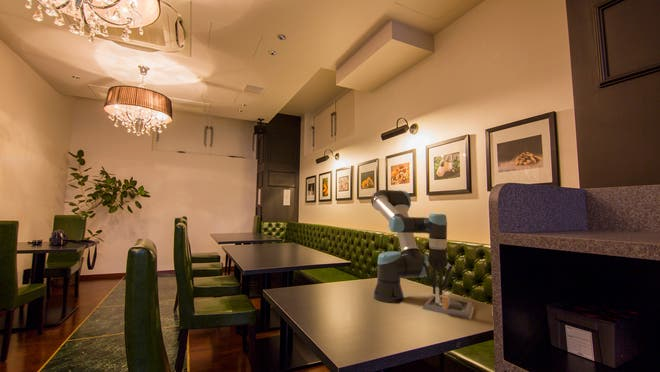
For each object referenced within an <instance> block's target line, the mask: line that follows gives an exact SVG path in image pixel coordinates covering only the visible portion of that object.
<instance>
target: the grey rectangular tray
mask: <svg viewBox="0 0 660 372" xmlns="http://www.w3.org/2000/svg"><path fill="white" fill-rule="evenodd" d="M442 297H443V296H440V299H442ZM450 300H454V301H457V302H460V303H461V304H462V311H460V310H455V309H449V308H448V309H447V310H445V309H442V307H439V306H436V303H435V295H434V294H433V295H431V296H430V297H429V298H428V300H427V301H426V302H425V303H424V304H423V307H421V309H422V310H426V311H430V312H435V313H440V314H445V315H449V316H450V315H452V316H455V317H460V318H465V319H470V320H471V319H472V317H473V313H474V309H475V306H473V302H472V301H467V300H461V299H455V298H450Z"/></svg>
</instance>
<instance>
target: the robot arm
mask: <svg viewBox="0 0 660 372" xmlns="http://www.w3.org/2000/svg"><path fill="white" fill-rule="evenodd" d="M411 201H412V200H411V195H410V194H409V193H408V192H407V191H406V190H401V189H400V190H393V189H380V190H377V191H376V192H374V193H373V194H372V196H371V198H370V202H371V205H372V207H373V209H375V210H376V211H378V212H379V213H380V214H381V215H382V216H383V217H384V218H385V219H386V220H387V222H388V227H389V231H390V232H391V233H397V237H398V241H399V246H400V249H401V251H394V250H393V251H392V250H391V251H384V252H381V253H379V254H378V256H377V257H378V258H377V281H376V285H375V288H374V291H373V298H374V299H375V300H377V301H379V302H383V303H394V304H395V303H397V304H398V303H401V302H402V303H403V301H404V297H405V296H404V292H403V289H402V285H401V278H416V279H417V278H424V277H425V276H426V278H427V284H428V285H430V286H432V294H433V295H434V296H435V303H440V297H441V296H442V295H444V294H443V289H444V288H446V287H447V286H448V283H449V278H450V275H451V271H452V269H453V268H454V265H451V264H450V263H449V261H448V253H447V252H448V250H447V248H448V242H447V240H448V239H447V238H448V236H447V235H448V221H447V220H448V219H447V215H446V214H444V213H430V214H429V216H428V217H420V216H419V217H413V216H412V217H411V216H409V213H408V212H409V210H410V207H411V205H412V204H411ZM414 234H428V246H429V249H428V256H427V255H426V254H423V252H422V250H421V248H419V247H418V245H417V241H416V238H415V235H414ZM430 267H431V268H432V275H431V271H430ZM445 268H446V269H447V271H446V273H445V277H443V275H444V274H443V273H444V269H445ZM437 270H438V272H437ZM437 273H438V274H437ZM437 275H438V276H437ZM437 277H438V278H437ZM443 278H444V279H443ZM443 280H444V281H443ZM437 281H438V286H437Z"/></svg>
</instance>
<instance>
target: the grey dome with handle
mask: <svg viewBox="0 0 660 372" xmlns="http://www.w3.org/2000/svg"><path fill="white" fill-rule="evenodd" d="M442 295H443V296H441V297H442V299H440V303H436V306H439V307H442V309H445V310H447V309H448V308H449V309H455V310H460V311H462V304H461V303H460V302H457V301H454V300H450V299H451V293H450V292H448V291H445V293H444V294H442Z"/></svg>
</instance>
